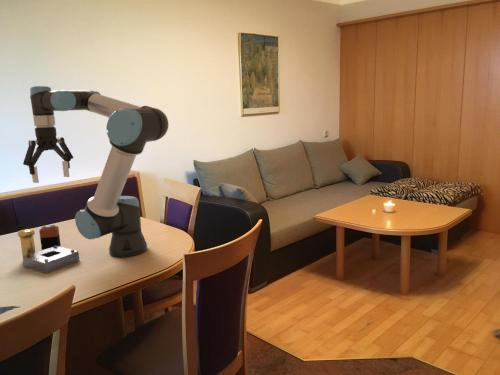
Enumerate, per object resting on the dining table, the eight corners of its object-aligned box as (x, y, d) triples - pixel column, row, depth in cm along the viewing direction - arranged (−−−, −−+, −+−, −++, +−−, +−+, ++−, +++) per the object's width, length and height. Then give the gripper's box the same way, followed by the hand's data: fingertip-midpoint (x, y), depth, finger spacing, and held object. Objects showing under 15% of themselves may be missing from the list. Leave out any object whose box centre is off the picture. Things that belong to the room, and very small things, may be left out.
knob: (41, 258, 169) (37, 230, 167) (27, 263, 165) (23, 234, 162) (32, 256, 172) (28, 228, 170) (18, 261, 168) (14, 232, 165)
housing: (79, 260, 166) (78, 249, 165) (46, 273, 154) (44, 261, 153) (57, 255, 173) (56, 244, 172) (24, 266, 162) (22, 255, 161)
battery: (58, 249, 180) (55, 226, 178) (41, 250, 179) (38, 228, 177) (61, 245, 185) (58, 223, 182) (44, 247, 183) (41, 225, 181)
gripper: (67, 124, 179) (72, 174, 183) (8, 128, 158) (16, 184, 162) (78, 124, 175) (84, 175, 179) (19, 128, 154) (27, 186, 158)
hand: (51, 179), depth 171 cm, fingers open, 13 cm apart
